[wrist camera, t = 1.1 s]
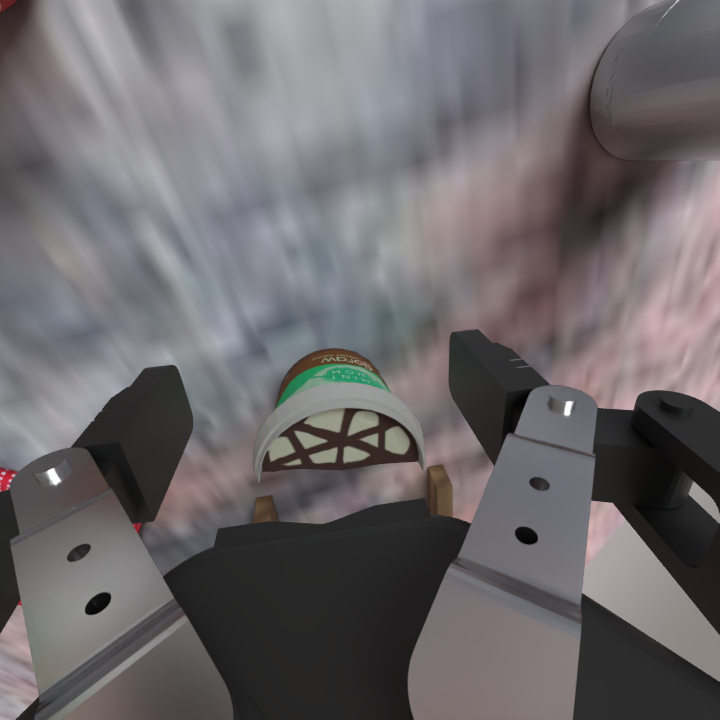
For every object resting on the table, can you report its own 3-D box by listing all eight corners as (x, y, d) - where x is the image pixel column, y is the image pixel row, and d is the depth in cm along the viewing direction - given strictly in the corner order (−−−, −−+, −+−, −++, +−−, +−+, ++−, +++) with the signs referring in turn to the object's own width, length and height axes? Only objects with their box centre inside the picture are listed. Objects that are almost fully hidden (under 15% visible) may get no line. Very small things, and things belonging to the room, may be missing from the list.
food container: (405, 333, 34) (443, 394, 25) (400, 395, 37) (432, 471, 28) (256, 336, 32) (240, 403, 23) (262, 401, 35) (249, 483, 26)
